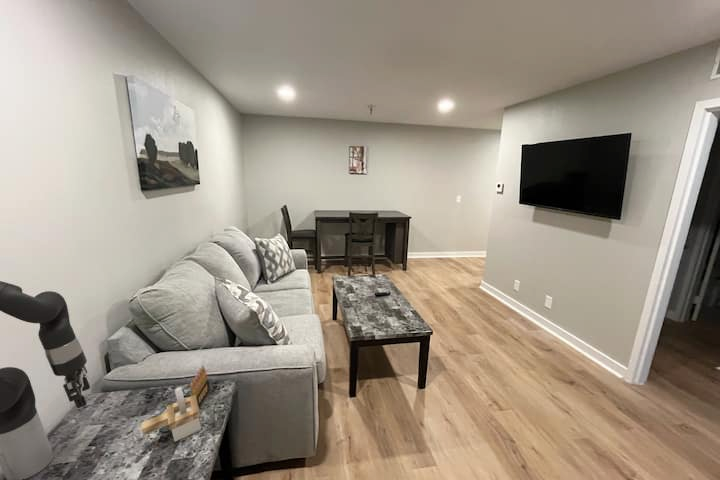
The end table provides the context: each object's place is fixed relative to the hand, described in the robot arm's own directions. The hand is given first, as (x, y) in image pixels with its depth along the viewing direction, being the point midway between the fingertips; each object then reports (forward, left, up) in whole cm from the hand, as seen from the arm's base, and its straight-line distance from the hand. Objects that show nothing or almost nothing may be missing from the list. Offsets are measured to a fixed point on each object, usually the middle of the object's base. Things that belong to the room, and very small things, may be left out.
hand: (84, 397), depth 96 cm
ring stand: (+25, -12, -18) cm, 33 cm away
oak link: (+21, -12, -12) cm, 27 cm away
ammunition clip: (+31, -1, -18) cm, 36 cm away
